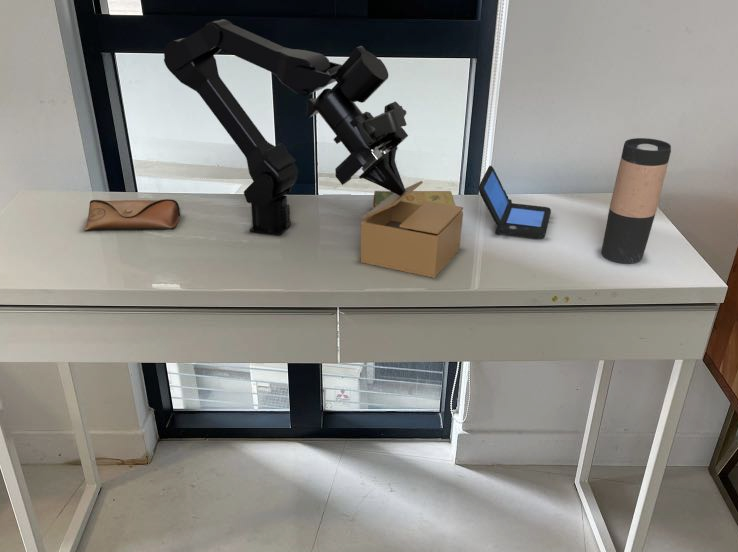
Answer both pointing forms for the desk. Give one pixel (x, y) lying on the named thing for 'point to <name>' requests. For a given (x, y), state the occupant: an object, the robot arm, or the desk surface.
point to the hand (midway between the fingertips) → (402, 193)
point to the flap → (391, 201)
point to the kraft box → (413, 237)
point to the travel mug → (635, 199)
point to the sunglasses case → (133, 215)
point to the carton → (417, 197)
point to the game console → (512, 210)
